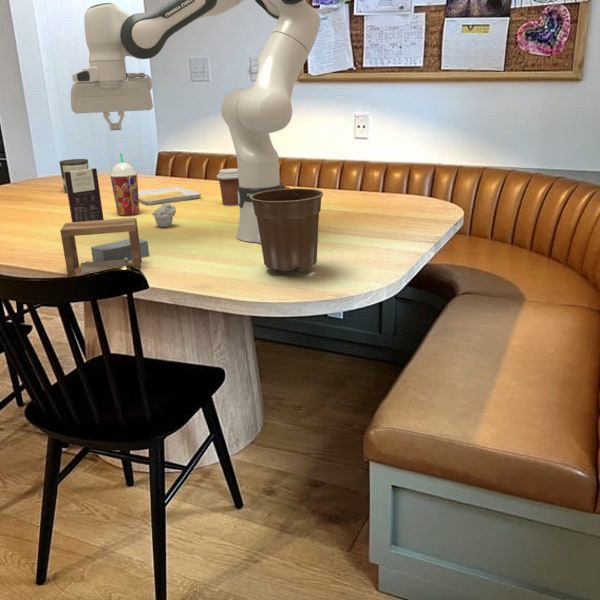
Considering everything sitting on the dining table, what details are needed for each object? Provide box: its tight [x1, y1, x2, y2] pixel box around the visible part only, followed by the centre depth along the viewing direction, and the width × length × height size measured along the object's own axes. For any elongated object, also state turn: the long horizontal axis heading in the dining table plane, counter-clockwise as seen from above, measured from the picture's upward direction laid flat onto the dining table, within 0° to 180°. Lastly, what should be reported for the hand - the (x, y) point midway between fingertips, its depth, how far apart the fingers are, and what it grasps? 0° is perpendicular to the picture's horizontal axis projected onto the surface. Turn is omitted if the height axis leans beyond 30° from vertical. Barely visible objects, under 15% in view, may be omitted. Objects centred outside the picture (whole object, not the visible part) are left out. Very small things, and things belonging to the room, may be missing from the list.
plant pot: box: [250, 187, 324, 272], centre depth 143 cm, size 16×16×16 cm
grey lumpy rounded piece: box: [151, 202, 177, 228], centre depth 186 cm, size 6×7×7 cm
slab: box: [90, 238, 150, 262], centre depth 155 cm, size 12×6×4 cm, turn 134°
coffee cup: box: [216, 168, 239, 207], centre depth 214 cm, size 9×9×12 cm
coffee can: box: [58, 158, 90, 195], centre depth 240 cm, size 10×10×14 cm
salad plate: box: [138, 186, 202, 206], centre depth 229 cm, size 21×21×3 cm
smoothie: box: [109, 153, 140, 217], centre depth 201 cm, size 8×8×20 cm
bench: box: [59, 217, 143, 277], centre depth 146 cm, size 8×16×10 cm, turn 101°
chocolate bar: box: [64, 168, 105, 222], centre depth 181 cm, size 9×1×18 cm, turn 131°
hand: (115, 130), depth 165 cm, fingers closed
